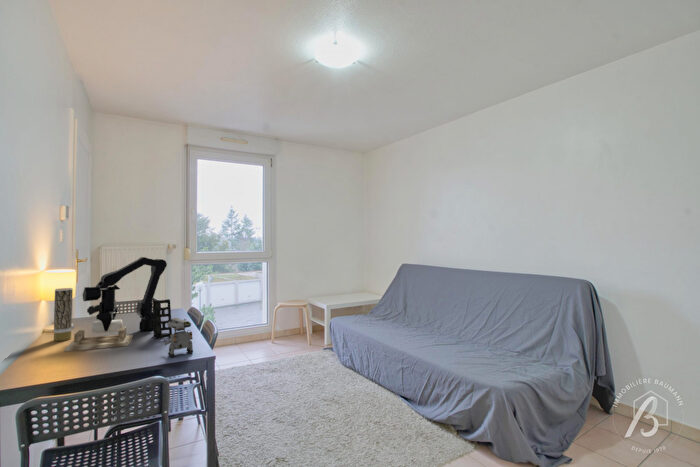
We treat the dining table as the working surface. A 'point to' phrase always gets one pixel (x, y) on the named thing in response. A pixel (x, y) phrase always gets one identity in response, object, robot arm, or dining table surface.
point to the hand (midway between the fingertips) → (107, 329)
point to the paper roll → (114, 326)
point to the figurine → (179, 336)
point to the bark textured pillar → (63, 314)
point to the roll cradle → (99, 341)
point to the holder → (157, 318)
